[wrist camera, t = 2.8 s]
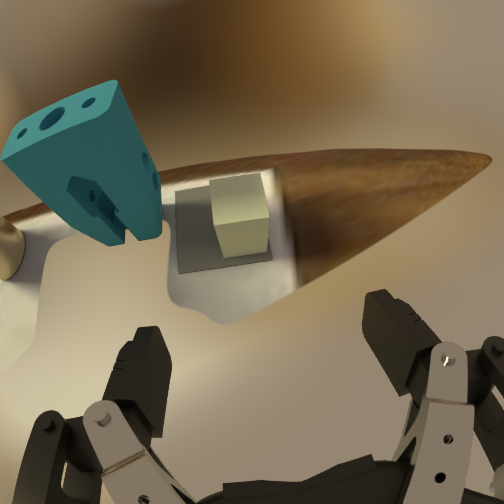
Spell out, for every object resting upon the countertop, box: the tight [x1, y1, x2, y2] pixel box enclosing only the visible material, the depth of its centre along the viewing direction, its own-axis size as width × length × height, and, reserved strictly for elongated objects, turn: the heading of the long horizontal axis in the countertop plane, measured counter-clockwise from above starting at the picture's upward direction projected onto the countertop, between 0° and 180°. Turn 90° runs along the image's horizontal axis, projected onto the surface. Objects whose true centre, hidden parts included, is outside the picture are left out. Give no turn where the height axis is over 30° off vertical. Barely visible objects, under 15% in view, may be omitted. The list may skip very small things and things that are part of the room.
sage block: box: [209, 173, 270, 258], centre depth 29 cm, size 5×5×8 cm
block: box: [0, 80, 162, 246], centre depth 25 cm, size 12×5×20 cm, turn 99°
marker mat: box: [175, 186, 272, 274], centre depth 34 cm, size 11×12×1 cm
